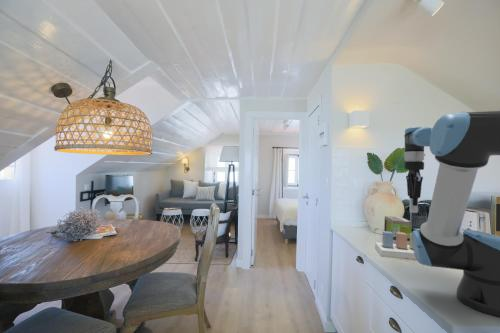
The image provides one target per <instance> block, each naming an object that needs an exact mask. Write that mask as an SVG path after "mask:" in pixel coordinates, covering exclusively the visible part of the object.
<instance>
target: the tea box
mask: <svg viewBox="0 0 500 333" xmlns="http://www.w3.org/2000/svg"><path fill="white" fill-rule="evenodd" d="M383 227H384V229H383V231H389V232H392V233H393V244H396V232H403V233H406V234H407V245H410V233H412V221H411V220H408V219H407V218H404V217H402V216H390V215H389V216H388V215H384V226H383Z"/></svg>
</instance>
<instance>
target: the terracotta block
mask: <svg viewBox="0 0 500 333" xmlns="http://www.w3.org/2000/svg"><path fill="white" fill-rule="evenodd" d="M396 246H397V247H398V248H407V234H406V233H403V232H396Z"/></svg>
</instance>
